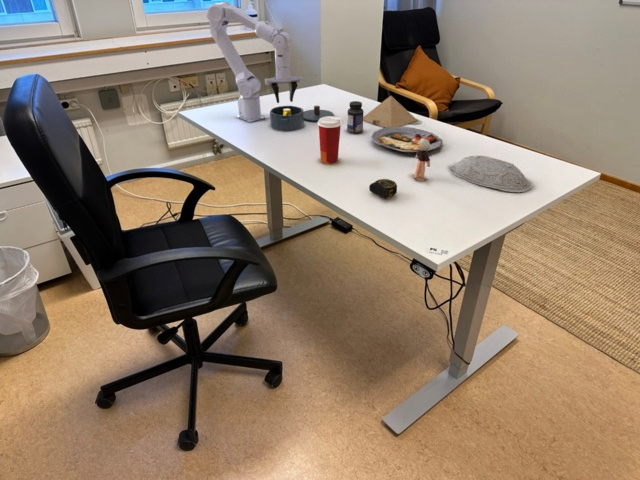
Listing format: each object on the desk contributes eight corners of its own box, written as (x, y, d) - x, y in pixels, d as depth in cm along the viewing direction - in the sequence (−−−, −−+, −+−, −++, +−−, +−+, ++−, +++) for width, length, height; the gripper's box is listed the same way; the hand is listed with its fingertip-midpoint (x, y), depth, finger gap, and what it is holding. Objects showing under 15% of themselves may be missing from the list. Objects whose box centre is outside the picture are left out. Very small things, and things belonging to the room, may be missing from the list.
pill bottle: (362, 129, 175) (364, 100, 169) (362, 134, 170) (364, 105, 164) (347, 128, 176) (348, 100, 170) (346, 133, 171) (347, 105, 165)
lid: (298, 122, 182) (298, 111, 180) (301, 111, 194) (301, 101, 192) (333, 122, 182) (333, 111, 179) (333, 112, 194) (334, 101, 191)
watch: (287, 127, 176) (287, 112, 173) (281, 126, 177) (280, 111, 173) (293, 122, 181) (292, 107, 177) (286, 121, 181) (286, 107, 178)
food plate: (453, 144, 162) (454, 134, 160) (418, 163, 148) (419, 153, 146) (396, 128, 176) (397, 119, 174) (359, 144, 162) (359, 134, 160)
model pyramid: (359, 119, 185) (360, 95, 179) (386, 111, 194) (388, 87, 189) (390, 130, 174) (392, 104, 169) (417, 120, 184) (420, 95, 179)
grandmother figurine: (406, 175, 140) (411, 136, 133) (416, 172, 141) (421, 134, 134) (422, 184, 134) (428, 144, 127) (432, 182, 136) (438, 142, 129)
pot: (267, 133, 171) (266, 117, 168) (274, 118, 187) (273, 103, 184) (301, 133, 171) (301, 118, 168) (305, 118, 186) (304, 104, 183)
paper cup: (343, 157, 151) (344, 117, 144) (336, 166, 145) (337, 124, 138) (321, 155, 153) (321, 114, 146) (314, 163, 147) (313, 121, 140)
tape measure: (367, 193, 129) (368, 181, 127) (385, 187, 132) (386, 176, 130) (383, 203, 125) (384, 190, 123) (401, 196, 128) (402, 184, 126)
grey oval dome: (517, 196, 126) (523, 173, 123) (440, 174, 142) (444, 153, 139) (539, 185, 136) (545, 163, 133) (465, 165, 152) (469, 145, 149)
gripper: (298, 63, 177) (299, 97, 184) (262, 65, 173) (264, 100, 181) (303, 66, 171) (303, 102, 179) (265, 69, 168) (268, 105, 175)
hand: (284, 101), depth 179 cm, fingers open, 5 cm apart
